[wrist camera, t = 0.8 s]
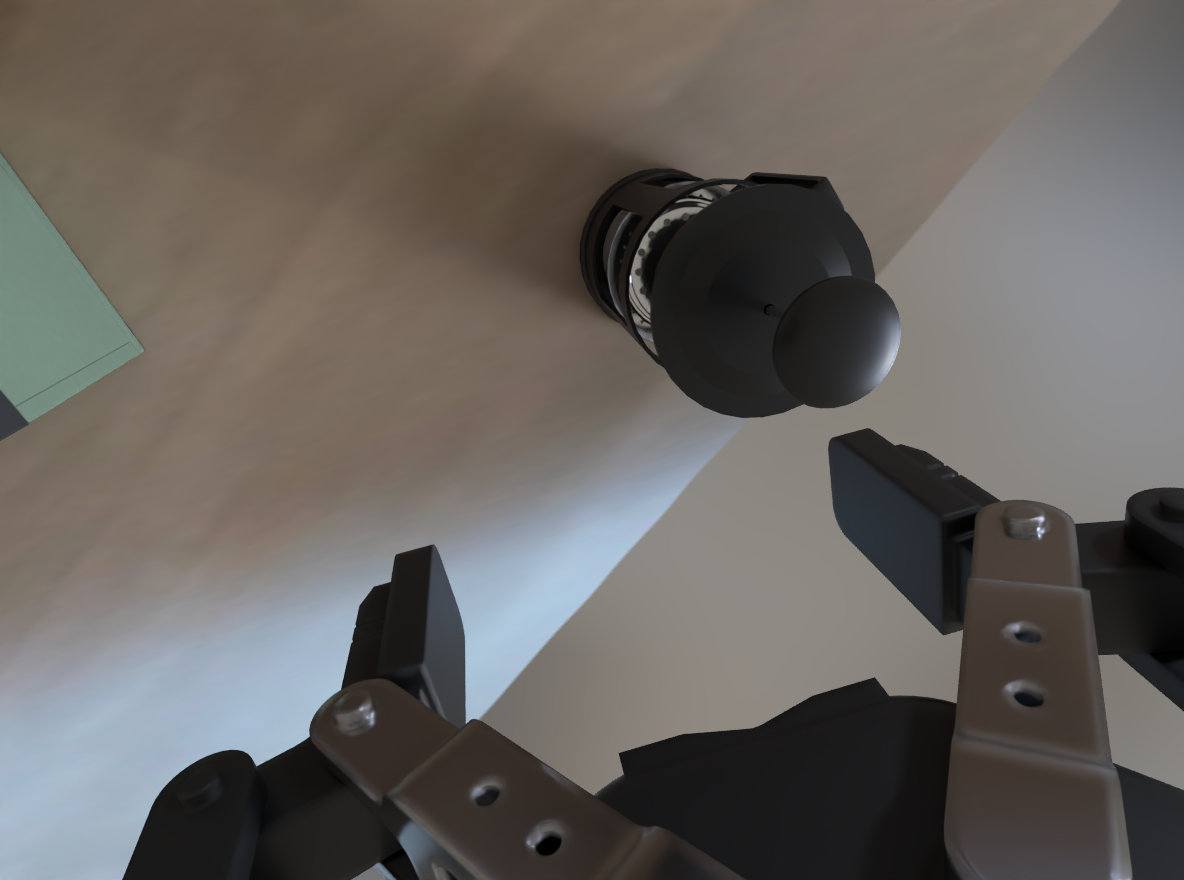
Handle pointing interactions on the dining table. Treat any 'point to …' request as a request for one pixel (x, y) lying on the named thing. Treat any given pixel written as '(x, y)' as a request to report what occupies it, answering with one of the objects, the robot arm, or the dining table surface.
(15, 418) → the lid
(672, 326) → the french press
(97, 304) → the sage green box
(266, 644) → the dining table surface
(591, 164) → the dining table surface
